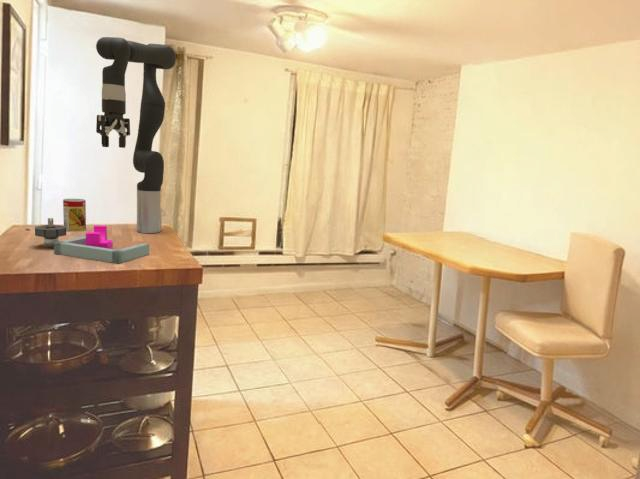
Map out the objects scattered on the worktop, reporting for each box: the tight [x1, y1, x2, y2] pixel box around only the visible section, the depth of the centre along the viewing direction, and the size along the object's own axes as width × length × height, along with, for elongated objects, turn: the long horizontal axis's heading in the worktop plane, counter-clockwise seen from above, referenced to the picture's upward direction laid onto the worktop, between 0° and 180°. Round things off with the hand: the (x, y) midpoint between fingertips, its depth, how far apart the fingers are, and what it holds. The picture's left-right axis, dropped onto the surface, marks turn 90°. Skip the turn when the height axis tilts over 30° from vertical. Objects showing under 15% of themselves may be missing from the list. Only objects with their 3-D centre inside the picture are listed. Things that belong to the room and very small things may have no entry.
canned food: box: [62, 198, 87, 232], centre depth 186 cm, size 8×8×12 cm
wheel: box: [34, 224, 67, 238], centre depth 156 cm, size 9×9×2 cm
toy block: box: [85, 225, 114, 249], centre depth 156 cm, size 15×6×8 cm, turn 16°
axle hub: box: [42, 217, 60, 249], centre depth 156 cm, size 4×4×10 cm
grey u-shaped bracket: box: [53, 235, 150, 264], centre depth 152 cm, size 15×24×4 cm, turn 75°
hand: (113, 147), depth 163 cm, fingers open, 8 cm apart
